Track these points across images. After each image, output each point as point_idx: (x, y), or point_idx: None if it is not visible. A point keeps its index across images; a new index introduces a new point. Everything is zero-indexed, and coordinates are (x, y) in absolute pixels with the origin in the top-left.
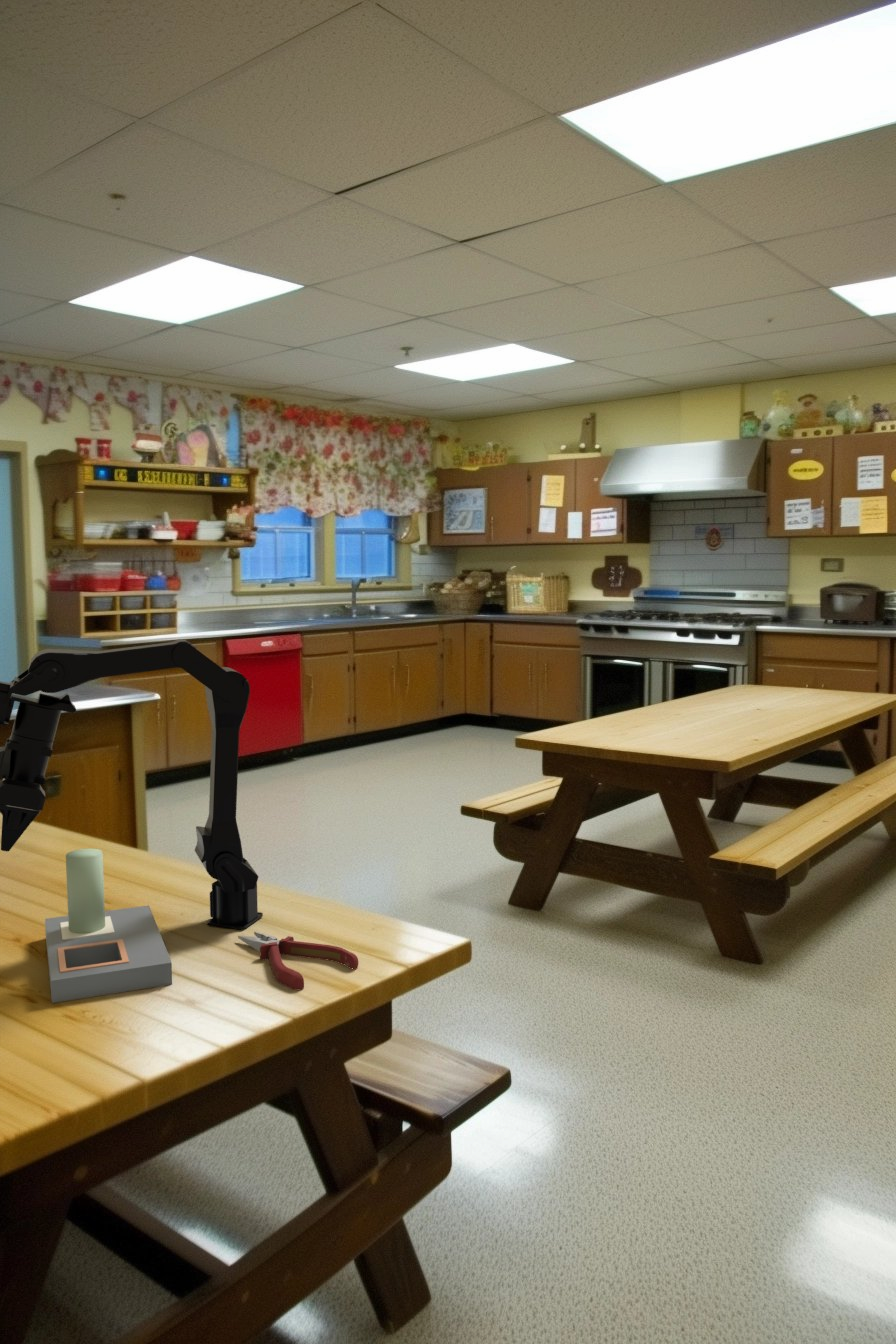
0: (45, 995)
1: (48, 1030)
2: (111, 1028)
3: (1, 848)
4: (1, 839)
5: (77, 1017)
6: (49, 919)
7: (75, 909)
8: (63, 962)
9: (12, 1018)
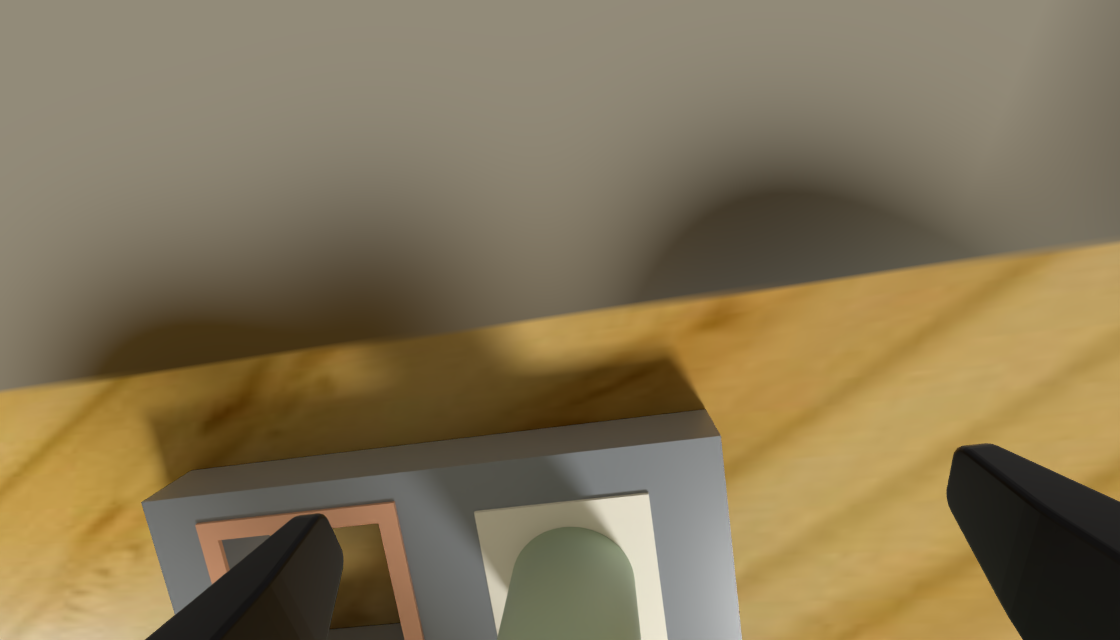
0: (245, 449)
1: (39, 474)
2: (39, 608)
3: (288, 527)
4: (197, 598)
5: (103, 534)
6: (706, 452)
7: (505, 613)
8: (265, 529)
9: (113, 382)
